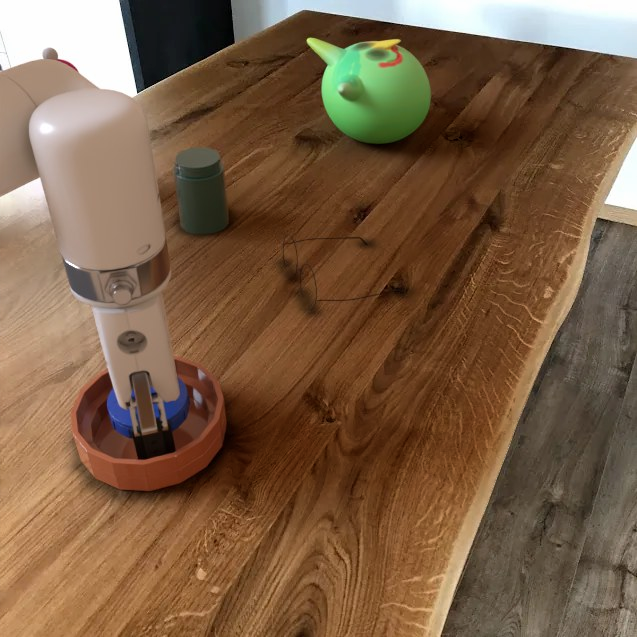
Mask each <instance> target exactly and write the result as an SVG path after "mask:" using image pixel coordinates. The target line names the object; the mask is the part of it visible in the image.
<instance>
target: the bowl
mask: <svg viewBox="0 0 637 637" xmlns="http://www.w3.org/2000/svg"><path fill="white" fill-rule="evenodd" d="M174 361H175V367H176V373H177V377H179V378H180V379H181V380H182V381H183V382H184V384H185V386H186V388H187V393H188V395H189V400H190V405H189V412H188V415H187V417H186V420H185V421H184V422H183V423H182V424H181V425H180V426H179V427H178V428H177V429H176V430H174V431H173V432H172V433H173V438H174V444H175V449H176V451H175V452H174V453H170V454H166V455H162V456H158V457H154V458H150V459H146V460H138V457H137V453H136V449H135V445H134V441H133V439H131V438H128V437H125V436H123V435H122V434H120V433H119V432H118V431H117V430H114V427H113V425H112V423H111V420H110V416H109V413H108V409H107V399H108V396H109V394H110V392H111V390H112V389H113V385H112V381H111V378H110V375H109V371H108V368H106V369H104V370H102V371H100V372H98V373H97V374H96V375H95V376H94V377H93V378H92V379H91V380H90V381H89V382H88V383H86V384H85V386H83V387H82V388H81V389H80V390H79V392H78V394H77V397H76V399H75V401H74V403H73V406H72V408H71V409H70V413H69V416H70V423H71V433H72V434H71V435H72V437H73V440H74V444H75V447H76V449H77V453H78V455H79V459H80V462H82V464H83V465H84V466H85V468H86V469H87V471H89V473H90V474H91V475H92V476H93V477H94V479H95V480H98V481H100V482H102V483H104V484H107V485H109V486H111V487H114V488H116V489H118V490H121V491H122V490H123V491H140V492H153V491H156V490H160V489H164V488H168V487H171V486H175V485H178V484H181V483H183V482H185V481H187V480H188V479H190V478H191V477H193V476H194V475H196V474H198V473H199V472H201V471H203V470H204V469H205V468H207V467H208V465H209V464H210V463H211V462H212V460H214V458H215V456H216V455H217V453H218V452H219V451H220V450H221V448H222V447H223V444H224V440H225V434H226V431H227V425H228V424H227V414H226V407H225V406H226V405H225V398H224V395H223V392H222V389H221V386H220V383H219V380H218V378H217V377H216V376H215V375H214V374H213V373H212V372H210V371H209V370H208V369H207V368H206V367H205V366H204V365H202V364H201V363H199V362H196V361H193V360H190V359H187V358H185V357H182V356H178V355H174Z"/></svg>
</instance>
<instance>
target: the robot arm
mask: <svg viewBox="0 0 637 637" xmlns="http://www.w3.org/2000/svg"><path fill="white" fill-rule="evenodd" d="M151 139H152V138H151V134H150V127H149V123H148V118H147V116H146V113H145V111H144V109H143V108H142V106H141V105H140V104H139V102H138V101H136V99H134V98H133V97H131V96H130V95H128V94H126V93H123V92H121V91H118V90H114V89H106V88H100V87H99V86H97V85H96V84H94V83H93V82H92V81H90V80H89V79H88V78H86V77H85V76H84V75H82V74H81V73H80V72H79V71H78V72H77V71H76V70H74V69H73V68H72V67H70V66H68V65H67V64H65V63H62V62H60V61H57V60H52V59H43V58H39V59H34V60H30V61H26V62H23V63H20V64H18V65H15V66H12V67H9V68H6V69H4V70H1V71H0V198H1V197H3V196H6V195H8V194H9V193H11V192H13V191H16V190H17V189H19V188H21V187H24V186H25V185H27V184H29V183H32V182H33V181H35V180H38V179H40V182H41V186H42V189H43V194H44V196H45V197H44V198H45V201H46V204H47V209H48V212H49V215H50V219H51V223H52V226H53V230H54V234H55V238H56V242H57V245H58V249H59V253H60V256H61V261H62V263H63V267H64V271H65V275H66V278H67V283H68V286H69V290H70V292H71V294H72V296H73V297H74V298H75V299H76V300H77V301H79V302H80V303H83V304H84V305H87V306H90V307H91V310H92V314H93V319H94V322H95V326H96V330H97V334H98V338H99V341H100V345H101V349H102V354H103V357H104V360H105V364H106V369H108V371H109V375H110V378H111V381H112V385H113V388H114V391H115V394H116V398H117V401H118V404H119V406H120V407H121V408H123V409H125V410H128V407H129V411H130V416H131V421H132V426H133V427H132V428H131V432H132V437H133V441H134V445H135V449H136V453H137V457H138V460H146V459H150V458H154V457H158V456H162V455H166V454H170V453H174V452H175V451H176V449H175V444H174V438H173V433H172V428H171V422H170V420H167V418H166V413H165V408H164V402H163V400H164V401H165V402H170V401H176V400H177V399H178V397H179V395H180V390H179V384H178V379H177V373H176V367H175V361H174V356H175V355H174V350H173V343H172V338H171V332H170V327H169V319H168V315H167V309H166V304H165V298H164V294H163V291H164V290H165V289H166V287H167V286H168V285H169V283H170V280H171V279H172V268H171V260H170V254H169V253H170V252H169V248H168V241H167V236H166V228H165V223H164V216H163V208H162V204H161V197H160V190H159V185H158V184H159V183H158V178H157V177H158V176H157V171H156V165H155V159H154V152H153V146H152V140H151ZM150 387H152V388H153V389H154V390H155V392H154V393H151V389H150ZM132 391H134V393H135V396H134V397H132ZM155 403H157V406H158V411H159V416H160V418H159V417H157V418H156V416H155V411H154V406H153V404H155ZM136 407H137V409H136ZM137 410H138V414H137ZM138 416H139V419H138Z"/></svg>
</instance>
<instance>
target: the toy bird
mask: <svg viewBox="0 0 637 637" xmlns="http://www.w3.org/2000/svg"><path fill="white" fill-rule="evenodd" d="M401 42H402V40H401V39H399V38H393V39H392V38H391V39H386V40H379V41H378V40H369V41H362V42H361V41H360V42H358V43H354V44H352V45H349V46H347V47H345V48H341V47H339V46H337V45H335V44H331V43H329V42H328V41H327V42H326V41H324V40H321V39H318V38H314V37H308V38H307V39H306V43H307V45H308V47H310V49H312V51H314V53H315V54H316V55H318V56H319V57H320V58H321V59H322V60H323V61H324V62H325V63H326V65H327V66H326V67H325V70H324V73H323V75H322V80H321V97H322V103H323V106H324V109H325V111H326V113H327V115H328V116H329V119H330V120H331V121H332V123H333V124H334V126H336V128H337V129H338V130H339V131H341V132H342V133H343V134H344V135H346V136H347V137H349V138H351V139H353V140H356V141H358V142H363V143H366V144H373V145H383V144H390V143H394V142H398V141H400V140H402V139H404V138H406V137H408V136H410V135H412V134H413V133H414V132H415V131H416V130H417V129H418V128H419V127H421V125H422V123H424V121H425V120H426V117H427V115H428V113H429V111H430V106H431V100H432V91H431V90H432V89H431V83H430V80H429V77H428V75H427V72H426V70H425V69H424V66H423V65H422V64H421V63H420V61H419V60H418V58H417V57H415V56H414V54H413V53H411V52H410V51H409V50H407V49H406V48H404V47H403V46H400V45H398V44H400V43H401Z"/></svg>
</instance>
